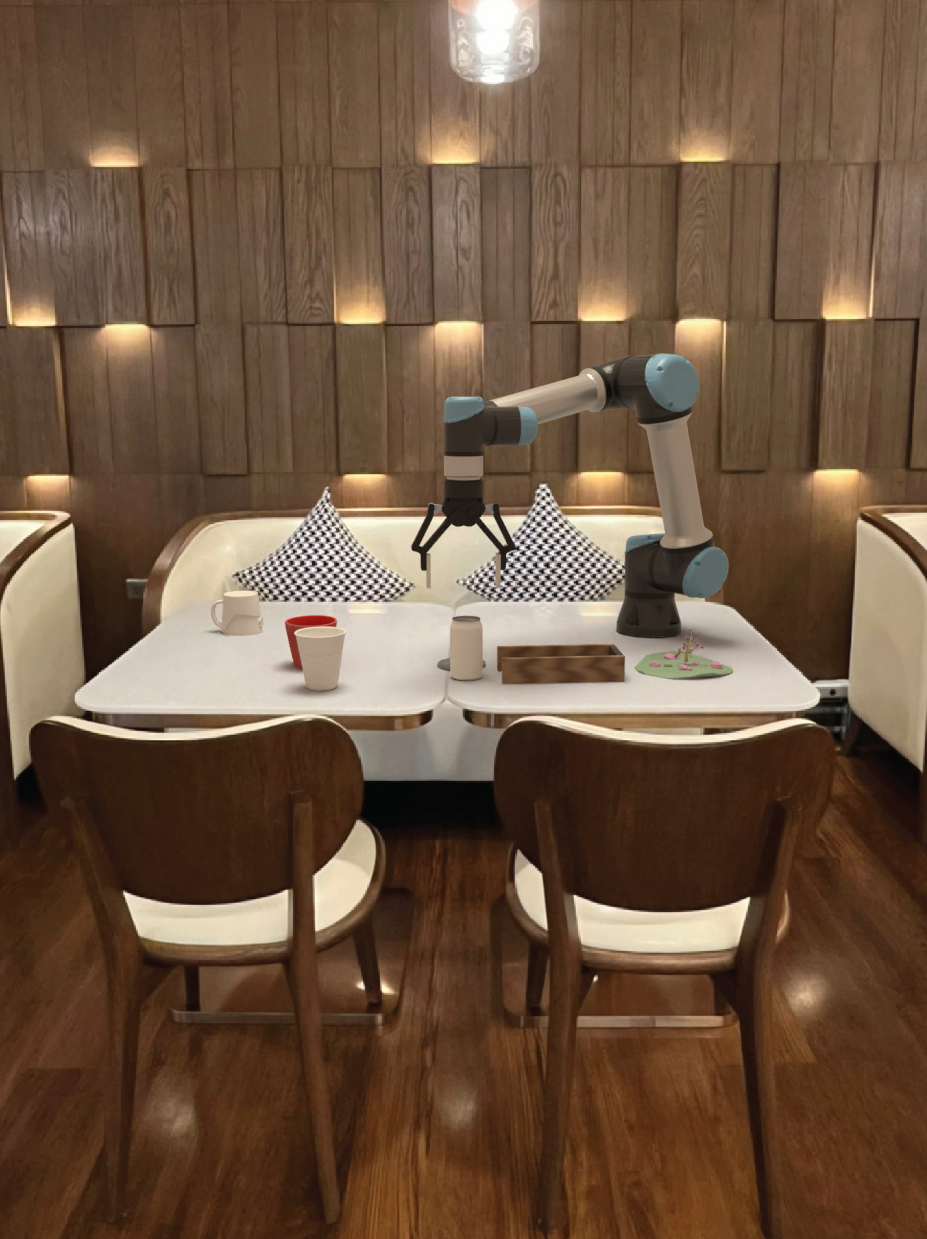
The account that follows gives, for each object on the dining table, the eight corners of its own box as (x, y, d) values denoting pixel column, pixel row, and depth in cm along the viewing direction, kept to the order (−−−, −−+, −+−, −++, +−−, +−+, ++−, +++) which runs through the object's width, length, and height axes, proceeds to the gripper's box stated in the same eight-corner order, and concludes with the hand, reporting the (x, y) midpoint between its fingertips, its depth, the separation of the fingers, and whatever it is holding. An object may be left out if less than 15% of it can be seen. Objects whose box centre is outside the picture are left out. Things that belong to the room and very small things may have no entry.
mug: (264, 590, 275) (256, 596, 267) (266, 628, 276) (258, 636, 269) (215, 590, 275) (205, 596, 267) (217, 628, 277) (207, 635, 269)
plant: (613, 656, 249) (614, 615, 247) (704, 652, 252) (706, 611, 250) (651, 685, 225) (653, 640, 223) (751, 680, 228) (753, 635, 226)
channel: (613, 667, 236) (613, 643, 235) (624, 681, 225) (624, 656, 224) (497, 669, 235) (497, 646, 234) (502, 684, 224) (502, 659, 223)
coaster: (483, 659, 244) (483, 656, 244) (487, 670, 234) (487, 668, 234) (436, 660, 243) (436, 657, 243) (438, 671, 234) (438, 669, 233)
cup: (297, 681, 227) (295, 626, 225) (348, 680, 228) (346, 625, 225) (294, 694, 217) (292, 637, 215) (347, 693, 218) (345, 636, 216)
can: (476, 682, 225) (475, 622, 223) (445, 679, 228) (445, 620, 225) (487, 674, 231) (487, 616, 229) (457, 672, 233) (456, 614, 231)
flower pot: (297, 674, 233) (295, 627, 231) (279, 662, 242) (277, 617, 240) (345, 668, 237) (344, 622, 236) (326, 657, 247) (325, 612, 245)
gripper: (525, 476, 226) (524, 583, 230) (398, 476, 224) (399, 584, 228) (530, 479, 218) (528, 589, 222) (398, 479, 217) (399, 590, 221)
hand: (463, 587), depth 225 cm, fingers open, 13 cm apart
